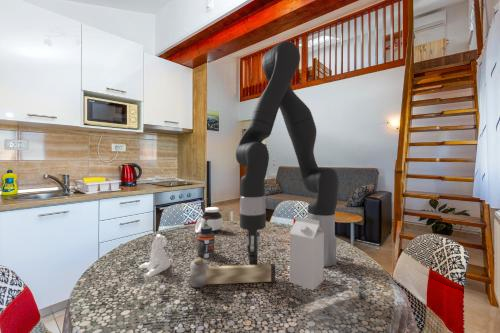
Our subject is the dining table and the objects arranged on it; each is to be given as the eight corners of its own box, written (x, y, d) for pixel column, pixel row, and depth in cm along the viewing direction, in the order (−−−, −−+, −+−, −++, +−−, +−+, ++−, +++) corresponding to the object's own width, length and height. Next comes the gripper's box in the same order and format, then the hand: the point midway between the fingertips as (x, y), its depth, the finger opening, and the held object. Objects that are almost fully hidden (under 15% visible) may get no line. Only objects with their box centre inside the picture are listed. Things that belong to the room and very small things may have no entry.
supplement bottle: (210, 262, 83) (211, 230, 82) (194, 260, 84) (195, 228, 84) (216, 255, 88) (216, 225, 88) (201, 254, 90) (201, 224, 90)
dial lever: (189, 287, 63) (189, 263, 62) (191, 279, 67) (191, 257, 67) (276, 284, 65) (276, 260, 65) (273, 276, 69) (273, 254, 69)
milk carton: (300, 277, 72) (301, 215, 72) (323, 284, 68) (324, 218, 68) (289, 286, 67) (289, 219, 67) (312, 295, 62) (313, 223, 62)
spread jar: (224, 230, 121) (224, 208, 121) (209, 236, 111) (209, 211, 111) (206, 227, 127) (206, 205, 127) (191, 232, 118) (191, 209, 118)
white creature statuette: (137, 270, 76) (137, 233, 76) (164, 263, 81) (164, 228, 81) (146, 282, 68) (146, 241, 68) (175, 273, 74) (175, 235, 74)
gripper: (265, 216, 62) (266, 281, 63) (265, 206, 75) (266, 260, 76) (237, 216, 63) (238, 281, 63) (241, 206, 76) (242, 260, 76)
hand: (253, 269), depth 69 cm, fingers closed
